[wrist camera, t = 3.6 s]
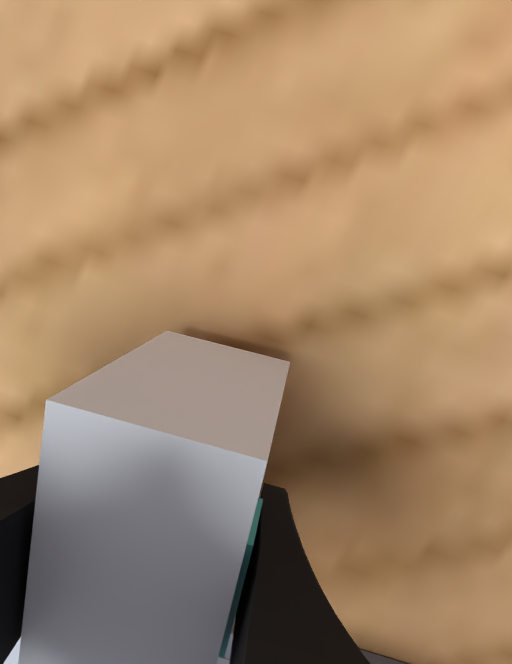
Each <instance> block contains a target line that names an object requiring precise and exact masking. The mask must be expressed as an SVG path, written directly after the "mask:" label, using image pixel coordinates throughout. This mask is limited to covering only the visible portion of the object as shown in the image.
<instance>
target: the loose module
mask: <svg viewBox="0 0 512 664" xmlns="http://www.w3.org/2000/svg"><path fill="white" fill-rule="evenodd" d="M289 366H290V362H289V361H285V360H281V359H277V358H273V357H269V356H265V355H261V354H257V353H254V352H250V351H246V350H242V349H238V348H234V347H230V346H226V345H222V344H218V343H214V342H210V341H206V340H202V339H199V338H195V337H191V336H187V335H183V334H179V333H175V332H171V331H165V332H163V333H162V334H160V335H158V336H156V337H155V338H153V339H151V340H149V341H148V342H146V343H144V344H142V345H141V346H139V347H137V348H135V349H134V350H132V351H130V352H128V353H127V354H125V355H123V356H121V357H120V358H118V359H116V360H114V361H113V362H111V363H109V364H107V365H106V366H104V367H102V368H100V369H99V370H97V371H95V372H94V373H92V374H90V375H88V376H87V377H85V378H83V379H81V380H80V381H78V382H76V383H74V384H73V385H71V386H69V387H67V388H66V389H64V390H62V391H60V392H59V393H57V394H55V395H53V396H52V397H50V398H48V399H46V406H45V415H44V425H43V434H42V444H41V453H40V462H39V472H38V481H37V491H36V500H35V510H34V519H33V529H32V538H31V548H30V557H29V566H28V576H27V585H26V595H25V604H24V614H23V623H22V633H21V642H20V652H19V661H18V664H216V663H217V660H218V657H220V658H223V659H224V658H225V654H226V650H227V646H228V642H229V638H230V634H231V630H232V627H233V623H234V619H235V615H236V611H237V607H238V603H239V599H240V595H241V592H242V588H243V584H244V580H245V576H246V572H247V568H248V564H249V561H250V557H251V553H252V549H253V545H254V540H255V535H256V531H257V526H258V521H259V517H260V512H261V507H262V502H263V499H261V498H258V497H259V493H260V489H261V485H262V481H263V477H264V473H265V469H266V466H267V462H268V457H269V453H270V448H271V444H272V440H273V435H274V431H275V427H276V422H277V418H278V414H279V409H280V405H281V401H282V396H283V392H284V387H285V383H286V379H287V374H288V370H289Z"/></svg>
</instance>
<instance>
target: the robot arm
mask: <svg viewBox="0 0 512 664" xmlns="http://www.w3.org/2000/svg"><path fill="white" fill-rule="evenodd" d="M38 472H39V465H37V466H35V467H32V468H29V469H26V470H23V471H20V472H17V473H15V474H12V475H9V476H6V477H2V478H0V664H3V663H4V662H5V660H6V659H7V657H8V656H9V654H10V653H11V651H12V650H13V648H14V647H15V645H16V643H17V642H18V640H19V639H20V637H21V633H22V623H23V614H24V604H25V595H26V585H27V576H28V566H29V557H30V548H31V538H32V529H33V519H34V510H35V500H36V491H37V481H38ZM260 498H261V499H263V502H262V507H261V512H260V517H259V521H258V526H257V531H256V535H255V540H254V545H253V549H252V553H251V557H250V561H249V564H248V568H247V572H246V576H245V580H244V584H243V588H242V592H241V595H240V599H239V603H238V607H237V611H236V617H235V625H234V632H233V640H232V647H231V655H230V662H229V664H370V662H369V661H368V660H367V659H366V657H365V656H364V655H363V653H362V652H361V651H360V649H359V648H358V647H357V645H356V644H355V643H354V641H353V640H352V638H351V637H350V635H349V634H348V632H347V631H346V629H345V628H344V626H343V625H342V623H341V622H340V620H339V619H338V617H337V615H336V614H335V612H334V610H333V609H332V607H331V605H330V604H329V602H328V600H327V598H326V596H325V594H324V592H323V591H322V589H321V587H320V585H319V583H318V581H317V579H316V577H315V575H314V572H313V570H312V568H311V566H310V563H309V561H308V559H307V556H306V554H305V551H304V549H303V546H302V543H301V541H300V538H299V535H298V532H297V529H296V526H295V523H294V520H293V516H292V512H291V508H290V504H289V499H288V493H287V492H286V490H285V489H283V488H280V487H276V486H273V485H269V484H266V483H264V486H263V490H262V493H261V497H260Z"/></svg>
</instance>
